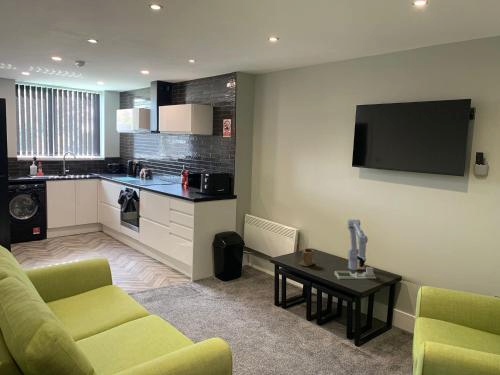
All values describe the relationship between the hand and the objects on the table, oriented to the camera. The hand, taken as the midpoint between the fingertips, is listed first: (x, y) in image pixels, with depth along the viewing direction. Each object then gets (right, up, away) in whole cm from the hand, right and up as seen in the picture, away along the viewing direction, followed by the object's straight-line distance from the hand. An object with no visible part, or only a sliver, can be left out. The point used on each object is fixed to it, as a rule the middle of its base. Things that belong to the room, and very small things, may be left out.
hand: (360, 266), depth 317 cm
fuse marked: (0, -2, 0) cm, 2 cm away
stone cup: (-40, -5, +28) cm, 49 cm away
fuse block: (+3, -10, +1) cm, 10 cm away
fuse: (+7, -9, +2) cm, 11 cm away
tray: (-14, -9, +1) cm, 17 cm away
